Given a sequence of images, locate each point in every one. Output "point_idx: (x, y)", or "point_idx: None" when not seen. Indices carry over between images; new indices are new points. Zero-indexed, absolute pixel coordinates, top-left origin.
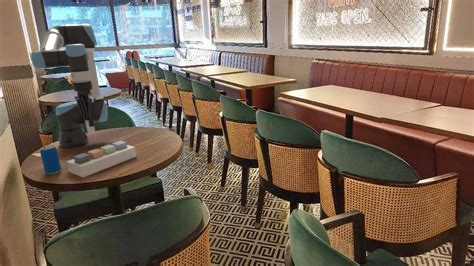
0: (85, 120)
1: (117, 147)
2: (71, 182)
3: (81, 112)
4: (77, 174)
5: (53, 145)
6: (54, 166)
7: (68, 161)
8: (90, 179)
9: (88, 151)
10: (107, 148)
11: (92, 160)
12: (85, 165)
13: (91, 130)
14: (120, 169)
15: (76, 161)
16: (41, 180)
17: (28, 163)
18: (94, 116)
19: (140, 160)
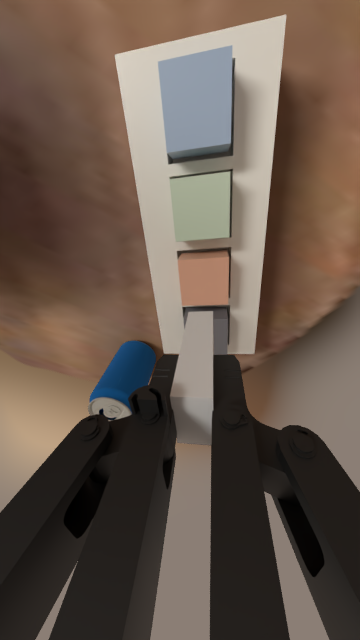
0: (181, 437)
1: (218, 148)
2: (248, 360)
3: (85, 539)
4: None
5: (101, 399)
6: (152, 369)
7: (169, 351)
8: (283, 328)
9: (182, 301)
10: (226, 225)
11: (238, 307)
12: (255, 339)
13: (213, 347)
14: (320, 228)
15: None
16: None
17: (28, 358)
18: (326, 466)
19: (341, 83)
